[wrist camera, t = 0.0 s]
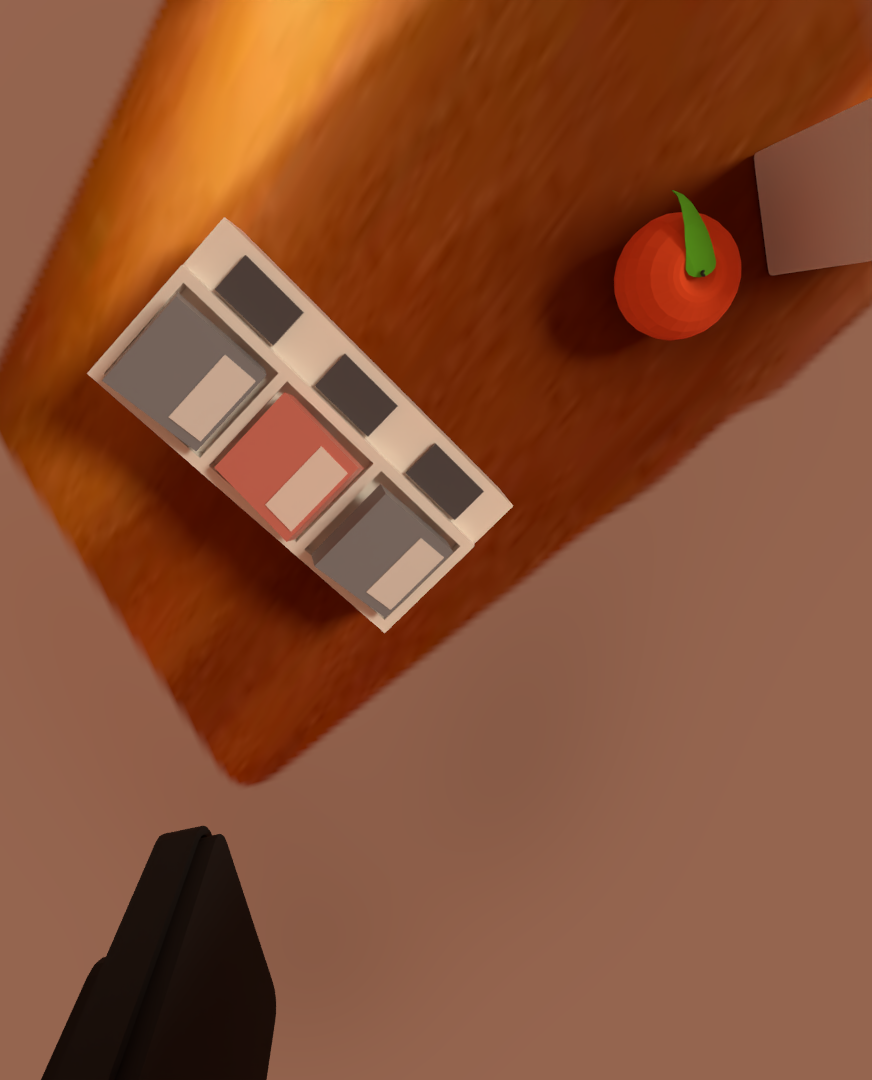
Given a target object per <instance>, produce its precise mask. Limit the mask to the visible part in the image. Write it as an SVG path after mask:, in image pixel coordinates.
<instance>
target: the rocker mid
mask: <svg viewBox="0 0 872 1080" xmlns="http://www.w3.org/2000/svg"><path fill="white" fill-rule="evenodd" d="M214 468H215V469H216V470H217V471H218V472H219V473H220V474H221V475H222V476H223V477H224V478H225V479H226V480H227V481H228V482H229V483H230V484H231V485H232V486H233V487H234V488H235V489H236V490H237V491H238V492H239V494H240V495H241V496H242V497H243V498H244V499H245V500H246V501H247V502H248V503H249V504H250V505H251V506H252V507H253V508H254V509H255V510H256V511H257V512H258V513H259V514H260V515H261V516H262V517H263V518H264V519H265V520H266V521H267V522H268V523H269V524H270V525H271V526H272V528H273V529H274V530H275V531H276V532H277V533H278V534H279V535H280V536H281V537H282V538H283V539H284V540H285V541H286V542H288V541H291V540H295V539H296V538H297V537H298V536H299V535H300V534H301V533H302V532H303V531H304V530H305V529H306V528H307V526H308V525H309V524H310V523H311V522H312V521H313V520H314V519H315V518H316V517H317V516H318V515H319V514H320V513H321V512H322V511H323V510H324V509H325V508H326V507H327V506H328V505H329V504H330V503H331V502H332V501H333V500H334V499H335V498H336V497H337V496H338V495H339V494H340V493H341V492H342V491H343V490H344V489H345V488H346V487H347V485H348V484H349V483H350V482H351V481H352V480H353V479H354V478H355V477H356V476H357V475H358V474H359V473H360V472H361V471H362V470H363V469H364V468H363V467H362V466H361V465H360V464H359V462H358V461H357V460H356V459H355V458H354V457H353V456H352V455H351V454H350V453H349V452H348V451H347V450H346V449H345V448H344V447H343V446H342V445H341V444H340V443H339V442H338V441H337V440H336V439H335V438H334V437H333V436H332V435H331V434H330V433H329V432H328V431H327V430H326V429H325V428H324V427H323V426H322V425H321V424H320V423H319V422H318V421H317V419H316V418H315V417H314V416H313V415H312V414H311V413H310V412H309V411H308V410H307V409H306V408H305V407H304V406H303V405H302V404H301V403H300V402H299V401H298V400H297V399H296V398H295V397H294V396H293V395H291V394H288V393H285V392H284V393H283V394H282V395H281V396H280V397H279V398H278V400H277V401H276V402H275V403H274V404H273V405H272V406H271V407H270V408H269V409H268V410H267V411H266V412H265V413H264V415H263V416H262V417H261V418H260V419H259V420H258V421H257V422H256V423H255V424H254V425H253V426H252V427H251V428H250V430H249V431H248V432H247V433H246V434H245V435H244V436H243V437H242V438H241V439H240V440H239V441H238V442H237V444H236V445H235V446H234V447H233V448H232V449H231V450H230V451H229V452H228V453H227V454H226V455H225V456H224V457H223V459H222V460H221V461H220V462H219V463H218V464H217V465H216V466H215V467H214Z"/></svg>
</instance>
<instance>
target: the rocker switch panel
mask: <svg viewBox="0 0 872 1080" xmlns="http://www.w3.org/2000/svg"><path fill="white" fill-rule="evenodd" d="M177 292H178V293H179V294H180V295H182V296H183V297H184V298H185V299H186V300H187V301H188V302H190V303H191V304H192V305H193V306H194V307H195V308H196V309H197V310H199V311H200V312H201V313H202V314H203V315H204V316H205V317H207V318H208V319H209V320H210V321H211V322H212V323H213V324H215V325H216V326H217V327H218V328H219V329H220V330H221V331H223V332H224V333H225V334H226V335H227V336H228V337H229V338H230V339H232V340H233V341H234V342H235V343H236V344H237V345H238V346H240V347H241V348H242V349H243V350H244V351H245V352H246V353H248V354H249V355H250V356H251V357H252V358H253V359H254V360H255V361H257V362H258V363H259V364H260V365H261V366H262V367H263V368H265V371H266V376H265V377H264V378H263V380H262V381H261V382H260V383H259V384H258V385H257V386H256V387H255V388H254V389H253V390H252V391H251V393H250V394H249V395H248V396H247V397H246V398H245V399H244V400H243V401H242V402H241V403H240V405H239V406H238V407H237V408H236V409H235V410H234V411H233V412H232V413H231V414H230V415H229V416H228V418H227V419H226V420H225V421H224V422H223V423H222V424H221V425H220V426H219V427H218V428H217V429H216V431H215V432H214V433H213V434H212V435H211V436H210V437H209V438H208V439H207V440H206V441H205V442H204V444H203V445H202V446H201V447H200V448H199V449H198V450H197V451H195V450H193V449H192V448H191V447H189V446H188V445H187V444H185V443H184V442H183V441H181V440H180V439H179V438H177V437H176V436H175V435H173V434H172V433H171V432H169V431H168V430H167V429H165V428H164V427H163V426H162V425H160V424H159V423H158V422H156V421H155V420H154V419H152V418H151V417H150V416H148V415H147V414H146V413H144V412H143V411H142V410H140V409H139V408H138V407H136V406H135V405H134V404H132V403H131V402H130V401H128V400H127V399H126V398H124V397H123V396H122V395H120V394H119V393H118V392H116V391H115V390H114V389H112V388H111V387H110V386H108V385H107V384H106V383H104V382H103V381H102V380H103V378H104V376H105V374H106V373H107V371H108V370H109V369H110V368H111V367H112V366H113V365H114V363H115V362H116V361H117V360H118V359H119V358H120V357H121V355H122V354H123V353H124V352H125V351H126V350H127V349H128V347H129V346H130V345H131V344H132V343H133V342H134V341H135V339H136V338H137V337H138V336H139V335H140V334H141V333H142V331H143V330H144V329H145V328H146V327H147V326H148V325H149V324H150V322H151V321H152V320H153V319H154V318H155V317H156V316H157V314H158V313H159V312H160V311H161V310H162V309H163V308H164V306H165V305H166V304H167V303H168V302H169V301H170V300H171V298H172V297H173V296H174V295H175V294H176V293H177ZM87 374H88V375H89V376H90V377H91V378H92V379H94V380H95V381H96V382H97V383H98V384H99V385H100V386H102V387H103V388H104V389H105V390H106V391H107V392H109V393H110V394H111V395H112V396H113V397H114V398H115V399H117V400H118V401H119V402H120V403H121V404H122V405H123V406H125V407H126V408H127V409H128V410H129V411H130V412H131V413H133V414H134V415H135V416H136V417H137V418H138V419H140V420H141V421H142V422H143V423H144V424H145V425H146V426H148V427H149V428H150V429H151V430H152V431H153V432H154V433H156V434H157V435H158V436H159V437H160V438H161V439H162V440H164V441H165V442H166V443H167V444H168V445H169V446H171V447H172V448H173V449H174V450H175V451H176V452H177V453H179V454H180V455H181V456H182V457H183V458H184V459H185V460H187V461H188V462H189V463H190V464H191V465H192V466H193V467H195V468H196V469H197V470H198V471H199V472H200V473H201V474H203V475H204V476H205V477H206V478H207V479H208V480H210V481H211V482H212V483H213V484H214V485H215V486H216V487H218V488H219V489H220V490H221V491H222V492H223V493H224V494H226V495H227V496H228V497H229V498H230V499H231V500H232V501H234V502H235V503H236V504H237V505H238V506H239V507H241V508H242V509H243V510H244V511H245V512H246V513H247V514H249V515H250V516H251V517H252V518H253V519H254V520H255V521H257V522H258V523H259V524H260V525H261V526H262V527H263V528H265V529H266V530H267V531H268V532H269V533H270V534H272V535H273V536H274V537H275V538H276V539H277V540H278V541H280V542H281V543H282V544H283V545H284V546H285V547H286V548H288V549H289V550H290V551H291V552H292V553H293V554H294V555H296V556H297V557H298V558H299V559H300V560H301V561H302V562H304V563H305V564H306V565H307V566H308V567H309V568H311V569H312V570H313V571H314V572H315V573H316V574H317V575H319V576H320V577H321V578H322V579H323V580H324V581H325V582H327V583H328V584H329V585H330V586H331V587H332V588H333V589H335V590H336V591H337V592H338V593H339V594H340V595H342V596H343V597H344V598H345V599H346V600H347V601H348V602H350V603H351V604H352V605H353V606H354V607H355V608H356V609H358V610H359V611H360V612H361V613H362V614H363V615H364V616H366V617H367V618H368V619H369V620H370V621H371V622H373V623H374V624H375V625H376V626H377V627H378V628H379V629H381V630H382V631H383V632H384V633H385V632H386V631H387V630H388V629H389V628H391V627H392V626H393V625H394V624H395V623H396V622H397V621H398V620H399V619H400V618H401V617H402V616H403V615H404V614H405V613H406V612H407V611H408V610H409V609H410V608H411V607H412V606H413V605H414V604H415V603H416V602H417V601H418V600H419V599H420V598H421V597H423V596H424V595H425V594H426V593H427V592H428V591H429V590H430V589H431V588H432V587H433V586H434V585H435V584H436V583H437V582H438V581H439V580H440V579H441V578H442V577H443V576H444V575H445V574H446V573H447V572H448V571H449V570H450V569H451V568H452V567H453V566H454V565H456V564H457V563H458V562H459V561H460V560H461V559H462V558H463V557H464V556H465V555H466V554H467V553H468V552H469V551H470V550H471V549H472V548H473V547H474V546H475V545H474V544H475V543H476V542H477V541H478V540H479V539H480V538H481V537H482V536H483V535H484V534H485V533H486V532H487V531H488V530H489V529H490V528H491V527H492V526H493V525H494V524H495V523H496V522H497V521H498V520H499V519H500V518H501V517H502V516H503V515H504V514H505V513H506V512H508V511H509V510H510V509H511V508H512V507H513V505H512V504H511V502H510V501H509V500H508V499H507V497H506V496H505V495H504V494H503V492H502V491H501V490H500V489H499V488H498V487H497V486H496V485H495V484H494V483H493V482H492V481H491V479H490V478H489V477H488V476H487V475H486V474H485V473H484V472H483V471H482V470H481V469H480V468H479V467H478V466H477V465H476V464H475V463H474V462H473V461H472V460H471V459H470V458H469V457H468V456H467V455H466V454H465V453H464V452H463V451H462V450H461V449H460V448H459V447H458V446H457V445H456V444H455V443H454V442H453V441H452V440H451V439H450V438H449V437H448V436H447V435H446V434H445V433H444V432H443V431H442V430H441V429H440V428H439V427H438V426H437V425H436V424H435V423H434V422H433V421H432V420H431V419H430V418H429V417H428V416H427V415H426V414H425V413H424V412H423V411H422V410H421V409H420V408H419V407H418V406H417V405H416V404H415V403H414V402H413V401H412V400H411V399H410V398H409V397H408V396H407V395H406V394H405V393H404V392H403V391H402V390H401V389H400V388H399V387H398V386H397V385H396V384H395V383H394V382H393V381H392V380H391V379H390V378H389V377H388V376H387V375H386V374H385V373H384V372H383V371H382V370H381V369H380V368H379V367H378V366H377V365H376V364H375V363H374V362H373V361H372V360H371V359H370V358H369V357H368V356H367V355H366V354H365V353H364V352H363V351H362V350H361V349H360V348H359V347H358V346H357V345H356V344H355V343H354V342H353V341H352V340H351V339H350V338H349V337H348V336H347V335H346V334H345V333H344V332H343V331H342V330H341V329H340V328H339V327H338V326H337V325H336V324H335V323H334V322H333V321H332V320H331V319H330V318H329V317H328V316H327V315H326V314H325V313H324V312H323V311H322V310H321V309H320V308H319V307H318V306H317V305H316V304H315V303H314V302H313V301H312V300H311V299H310V298H309V297H308V296H307V295H306V294H305V293H304V292H303V291H302V290H301V289H300V288H299V287H298V286H297V285H296V284H295V283H294V282H293V281H292V280H291V279H290V278H289V277H288V276H287V275H286V274H285V273H284V272H283V271H282V270H281V269H280V268H279V267H278V266H277V265H276V264H275V263H274V262H273V261H272V260H271V259H270V258H269V257H268V256H267V255H266V254H265V253H264V252H263V251H262V250H261V249H260V248H259V247H258V246H257V245H256V244H255V243H254V242H253V241H252V240H251V239H250V238H249V237H248V236H247V235H246V234H245V233H244V232H243V231H242V230H241V229H239V228H238V227H237V226H236V225H234V224H233V223H232V222H230V221H229V220H228V219H226V218H225V217H224V218H223V219H222V220H221V221H220V223H219V224H218V225H217V226H216V227H215V228H214V230H213V231H212V232H211V233H210V234H209V235H208V236H207V238H206V239H205V240H204V241H203V242H202V243H201V244H200V246H199V247H198V248H197V249H196V250H195V251H194V252H193V254H192V255H191V256H190V257H189V258H188V259H187V260H186V262H185V263H184V264H183V265H181V266H180V267H179V268H178V270H177V271H176V272H175V273H174V274H173V275H172V276H171V278H170V279H169V280H168V281H167V282H166V283H165V284H164V286H163V287H162V288H161V289H160V290H159V291H158V293H157V294H156V295H155V296H154V297H153V298H152V299H151V301H150V302H149V303H148V304H147V305H146V306H145V307H144V309H143V310H142V311H141V312H140V313H139V314H138V315H137V317H136V318H135V319H134V320H133V321H132V322H131V324H130V325H129V326H128V327H127V328H126V329H125V330H124V332H123V333H122V334H121V335H120V336H119V337H118V338H117V340H116V341H115V342H114V343H113V344H112V345H111V346H110V348H109V349H108V350H107V351H106V352H105V353H104V355H103V356H102V357H101V358H100V359H99V360H98V361H97V363H96V364H95V365H94V366H93V367H92V368H91V369H90V371H89V372H88V373H87ZM284 392H285V393H288V394H291V395H293V396H294V397H295V398H296V399H297V400H298V401H299V402H300V403H301V404H302V405H303V406H304V407H305V408H306V409H307V410H308V411H309V412H310V413H311V414H312V415H313V416H314V417H315V418H316V419H317V421H318V422H319V423H320V424H321V425H322V426H323V427H324V428H325V429H326V430H327V431H328V432H329V433H330V434H331V435H332V436H333V437H334V438H335V439H336V440H337V441H338V442H339V443H340V444H341V445H342V446H343V447H344V448H345V449H346V450H347V451H348V452H349V453H350V454H351V455H352V456H353V457H354V458H355V459H356V460H357V461H358V462H359V464H360V465H361V466H362V467H363V468H364V469H363V470H362V471H361V472H360V473H359V474H358V475H357V476H356V477H355V478H354V479H353V480H352V481H351V482H350V483H349V484H348V485H347V487H346V488H345V489H344V490H343V491H342V492H341V493H340V494H339V495H338V496H337V497H336V498H335V499H334V500H333V501H332V502H331V503H330V504H329V505H328V506H327V507H326V508H325V509H324V510H323V511H322V512H321V513H320V514H319V515H318V516H317V517H316V518H315V519H314V520H313V521H312V522H311V523H310V524H309V525H308V526H307V528H306V529H305V530H304V531H303V532H302V533H301V534H300V535H299V536H298V537H297V538H296V539H295V540H291V541H288V542H286V541H285V540H284V539H283V538H282V537H281V536H280V535H279V534H278V533H277V532H276V531H275V530H274V529H273V528H272V526H271V525H270V524H269V523H268V522H267V521H266V520H265V519H264V518H263V517H262V516H261V515H260V514H259V513H258V512H257V511H256V510H255V509H254V508H253V507H252V506H251V505H250V504H249V503H248V502H247V501H246V500H245V499H244V498H243V497H242V496H241V495H240V494H239V492H238V491H237V490H236V489H235V488H234V487H233V486H232V485H231V484H230V483H229V482H228V481H227V480H226V479H225V478H224V477H223V476H222V475H221V474H220V473H219V472H218V471H217V470H216V469H215V468H214V467H215V466H216V465H217V464H218V463H219V462H220V461H221V460H222V459H223V457H224V456H225V455H226V454H227V453H228V452H229V451H230V450H231V449H232V448H233V447H234V446H235V445H236V444H237V442H238V441H239V440H240V439H241V438H242V437H243V436H244V435H245V434H246V433H247V432H248V431H249V430H250V428H251V427H252V426H253V425H254V424H255V423H256V422H257V421H258V420H259V419H260V418H261V417H262V416H263V415H264V413H265V412H266V411H267V410H268V409H269V408H270V407H271V406H272V405H273V404H274V403H275V402H276V401H277V400H278V398H279V397H280V396H281V395H282V394H283V393H284ZM380 484H381V485H383V486H384V487H385V488H386V489H387V490H388V491H389V492H391V493H392V494H393V495H394V496H395V497H396V498H398V499H399V500H400V501H401V502H402V503H403V504H405V505H406V506H407V507H408V508H409V509H410V510H411V511H413V512H414V513H415V514H416V515H417V516H418V517H420V518H421V519H422V520H423V521H424V522H425V523H426V524H428V525H429V526H430V527H431V528H432V529H433V530H435V531H436V532H437V533H438V534H439V535H440V536H441V537H443V538H444V539H445V540H446V541H447V542H448V544H449V546H450V547H451V549H452V550H453V553H452V554H451V555H450V556H449V557H448V558H447V559H446V560H445V561H444V562H443V563H441V564H440V565H439V566H438V567H437V568H436V569H435V570H434V571H433V572H432V573H431V574H430V575H429V576H428V577H427V578H426V579H425V580H424V581H423V582H422V583H421V584H420V585H419V586H418V587H417V588H416V589H415V590H414V591H413V592H412V593H411V594H410V595H409V596H408V597H407V598H406V599H405V600H403V601H402V602H401V603H400V604H399V605H398V606H397V607H396V608H395V609H394V610H393V611H392V612H391V613H390V614H389V615H388V616H387V617H386V618H385V617H383V616H382V615H381V614H379V613H378V612H376V611H375V610H374V609H372V608H371V607H370V606H368V605H367V604H365V603H364V602H363V601H361V600H360V599H359V598H357V597H356V596H354V595H353V594H352V593H350V592H349V591H348V590H346V589H345V588H344V587H342V586H341V585H339V584H338V583H337V582H335V581H334V580H333V579H331V578H330V577H328V576H327V575H326V574H324V573H323V572H322V571H320V570H319V569H317V568H316V567H315V566H314V563H313V559H312V555H311V554H312V553H313V552H314V551H315V550H316V549H317V548H318V547H319V546H320V545H321V544H322V543H323V542H324V541H325V540H326V539H327V538H328V537H329V536H330V535H331V534H332V533H333V532H334V531H335V530H336V529H337V528H338V527H339V525H340V524H341V523H342V522H343V521H344V520H345V519H346V518H347V517H348V516H349V515H350V514H351V513H352V512H353V511H354V510H355V509H356V508H357V507H358V506H359V505H360V504H361V503H362V502H363V501H364V500H365V499H366V498H367V497H368V496H369V495H370V494H371V493H372V492H373V491H374V490H375V489H376V488H377V487H378V486H379V485H380Z"/></svg>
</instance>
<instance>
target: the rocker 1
mask: <svg viewBox="0 0 872 1080" xmlns="http://www.w3.org/2000/svg"><path fill="white" fill-rule="evenodd" d="M265 376H266V371H265V368H263V367H262V366H261V365H260V364H259V363H258V362H257V361H255V360H254V359H253V358H252V357H251V356H250V355H249V354H248V353H246V352H245V351H244V350H243V349H242V348H241V347H240V346H238V345H237V344H236V343H235V342H234V341H233V340H232V339H230V338H229V337H228V336H227V335H226V334H225V333H224V332H223V331H221V330H220V329H219V328H218V327H217V326H216V325H215V324H213V323H212V322H211V321H210V320H209V319H208V318H207V317H205V316H204V315H203V314H202V313H201V312H200V311H199V310H197V309H196V308H195V307H194V306H193V305H192V304H191V303H190V302H188V301H187V300H186V299H185V298H184V297H183V296H182V295H180V294H179V293H178V292H177V293H176V294H175V295H174V296H173V297H172V298H171V300H170V301H169V302H168V303H167V304H166V305H165V306H164V308H163V309H162V310H161V311H160V312H159V313H158V314H157V316H156V317H155V318H154V319H153V320H152V321H151V322H150V324H149V325H148V326H147V327H146V328H145V329H144V330H143V331H142V333H141V334H140V335H139V336H138V337H137V338H136V339H135V341H134V342H133V343H132V344H131V345H130V346H129V347H128V349H127V350H126V351H125V352H124V353H123V354H122V355H121V357H120V358H119V359H118V360H117V361H116V362H115V363H114V365H113V366H112V367H111V368H110V369H109V370H108V371H107V373H106V374H105V376H104V378H103V380H102V381H103V382H104V383H106V384H107V385H108V386H110V387H111V388H112V389H114V390H115V391H116V392H118V393H119V394H120V395H122V396H123V397H124V398H126V399H127V400H128V401H130V402H131V403H132V404H134V405H135V406H136V407H138V408H139V409H140V410H142V411H143V412H144V413H146V414H147V415H148V416H150V417H151V418H152V419H154V420H155V421H156V422H158V423H159V424H160V425H162V426H163V427H164V428H165V429H167V430H168V431H169V432H171V433H172V434H173V435H175V436H176V437H177V438H179V439H180V440H181V441H183V442H184V443H185V444H187V445H188V446H189V447H191V448H192V449H193V450H195V451H197V450H198V449H199V448H200V447H201V446H202V445H203V444H204V442H205V441H206V440H207V439H208V438H209V437H210V436H211V435H212V434H213V433H214V432H215V431H216V429H217V428H218V427H219V426H220V425H221V424H222V423H223V422H224V421H225V420H226V419H227V418H228V416H229V415H230V414H231V413H232V412H233V411H234V410H235V409H236V408H237V407H238V406H239V405H240V403H241V402H242V401H243V400H244V399H245V398H246V397H247V396H248V395H249V394H250V393H251V391H252V390H253V389H254V388H255V387H256V386H257V385H258V384H259V383H260V382H261V381H262V380H263V378H264V377H265Z"/></svg>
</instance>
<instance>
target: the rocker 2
mask: <svg viewBox="0 0 872 1080" xmlns="http://www.w3.org/2000/svg"><path fill="white" fill-rule="evenodd" d="M452 553H453V550H452V549H451V547H450V546H449V544H448V542H447V541H446V540H445V539H444V538H443V537H441V536H440V535H439V534H438V533H437V532H436V531H435V530H433V529H432V528H431V527H430V526H429V525H428V524H426V523H425V522H424V521H423V520H422V519H421V518H420V517H418V516H417V515H416V514H415V513H414V512H413V511H411V510H410V509H409V508H408V507H407V506H406V505H405V504H403V503H402V502H401V501H400V500H399V499H398V498H396V497H395V496H394V495H393V494H392V493H391V492H389V491H388V490H387V489H386V488H385V487H384V486H383V485H381V484H380V485H379V486H378V487H377V488H376V489H375V490H374V491H373V492H372V493H371V494H370V495H369V496H368V497H367V498H366V499H365V500H364V501H363V502H362V503H361V504H360V505H359V506H358V507H357V508H356V509H355V510H354V511H353V512H352V513H351V514H350V515H349V516H348V517H347V518H346V519H345V520H344V521H343V522H342V523H341V524H340V525H339V527H338V528H337V529H336V530H335V531H334V532H333V533H332V534H331V535H330V536H329V537H328V538H327V539H326V540H325V541H324V542H323V543H322V544H321V545H320V546H319V547H318V548H317V549H316V550H315V551H314V552H313V553H312V554H311V555H312V559H313V563H314V566H315V567H316V568H317V569H319V570H320V571H322V572H323V573H324V574H326V575H327V576H328V577H330V578H331V579H333V580H334V581H335V582H337V583H338V584H339V585H341V586H342V587H344V588H345V589H346V590H348V591H349V592H350V593H352V594H353V595H354V596H356V597H357V598H359V599H360V600H361V601H363V602H364V603H365V604H367V605H368V606H370V607H371V608H372V609H374V610H375V611H376V612H378V613H379V614H381V615H382V616H383V617H385V618H386V617H387V616H388V615H389V614H390V613H391V612H392V611H393V610H394V609H395V608H396V607H397V606H398V605H399V604H400V603H401V602H402V601H403V600H405V599H406V598H407V597H408V596H409V595H410V594H411V593H412V592H413V591H414V590H415V589H416V588H417V587H418V586H419V585H420V584H421V583H422V582H423V581H424V580H425V579H426V578H427V577H428V576H429V575H430V574H431V573H432V572H433V571H434V570H435V569H436V568H437V567H438V566H439V565H440V564H441V563H443V562H444V561H445V560H446V559H447V558H448V557H449V556H450V555H451V554H452Z"/></svg>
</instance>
